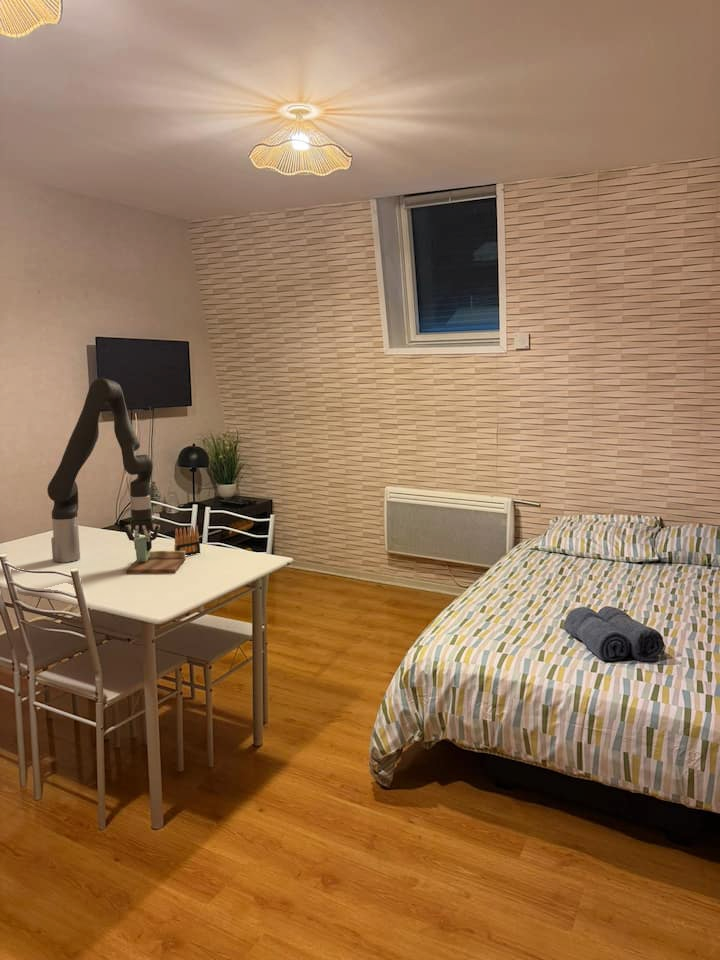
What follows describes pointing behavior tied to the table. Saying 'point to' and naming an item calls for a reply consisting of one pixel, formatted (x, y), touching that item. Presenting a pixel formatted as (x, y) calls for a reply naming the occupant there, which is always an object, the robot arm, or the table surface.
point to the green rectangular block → (142, 549)
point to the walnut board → (159, 562)
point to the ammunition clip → (187, 541)
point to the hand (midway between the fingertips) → (143, 550)
